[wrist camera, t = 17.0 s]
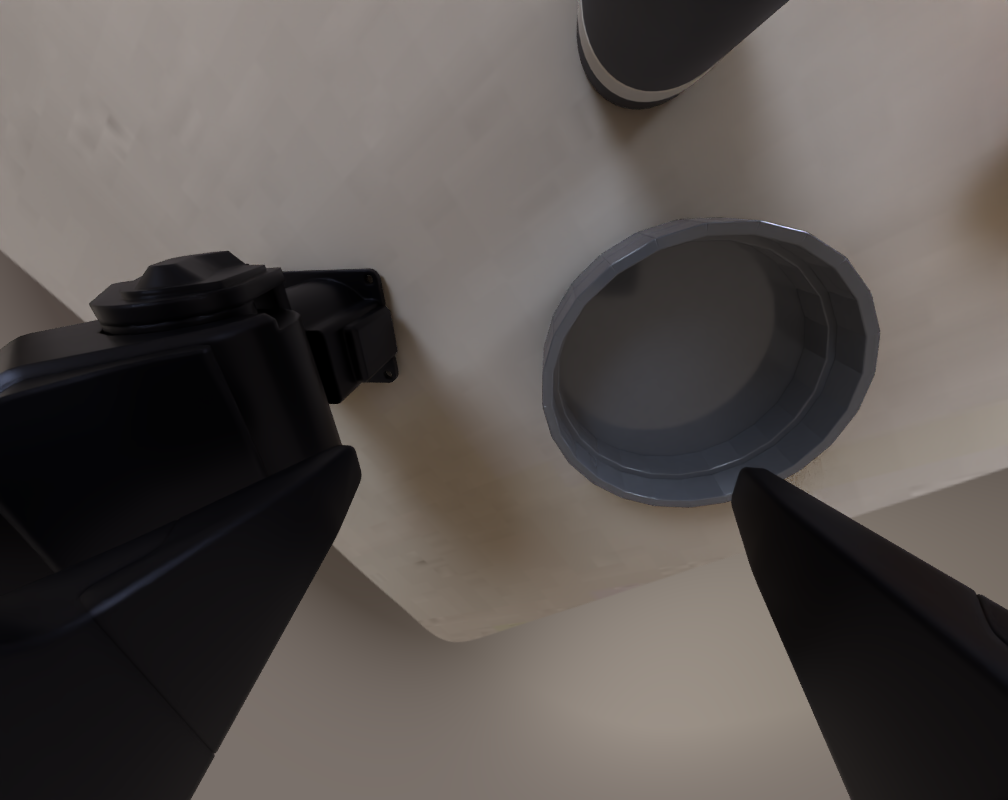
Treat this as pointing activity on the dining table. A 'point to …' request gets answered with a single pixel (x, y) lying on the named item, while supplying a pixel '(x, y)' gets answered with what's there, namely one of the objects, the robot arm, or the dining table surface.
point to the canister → (660, 43)
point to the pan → (706, 358)
